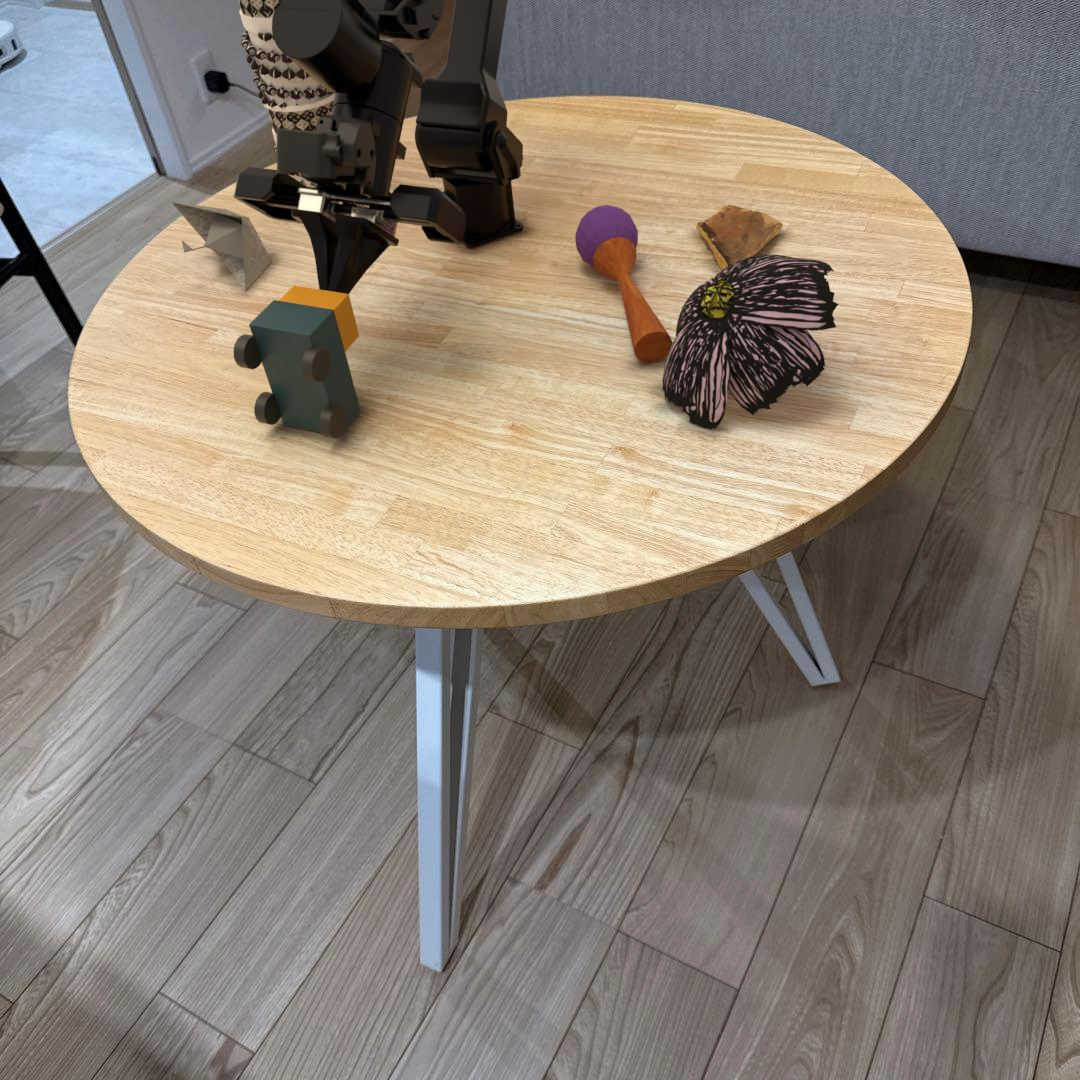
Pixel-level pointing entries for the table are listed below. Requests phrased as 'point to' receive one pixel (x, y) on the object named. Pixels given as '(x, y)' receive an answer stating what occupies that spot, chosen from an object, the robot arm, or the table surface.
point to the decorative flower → (748, 336)
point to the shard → (737, 233)
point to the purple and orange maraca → (622, 275)
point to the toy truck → (304, 360)
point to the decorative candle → (281, 77)
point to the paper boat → (228, 240)
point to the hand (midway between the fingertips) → (328, 309)
